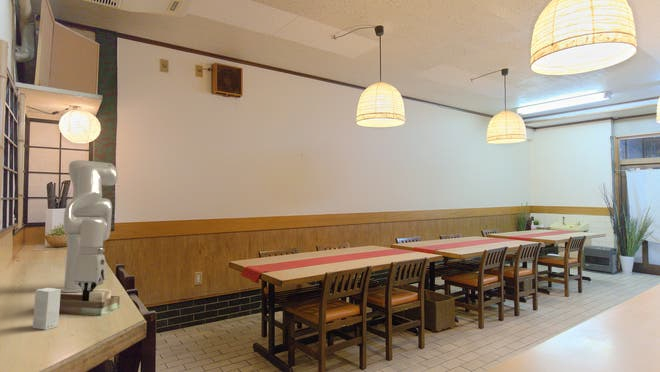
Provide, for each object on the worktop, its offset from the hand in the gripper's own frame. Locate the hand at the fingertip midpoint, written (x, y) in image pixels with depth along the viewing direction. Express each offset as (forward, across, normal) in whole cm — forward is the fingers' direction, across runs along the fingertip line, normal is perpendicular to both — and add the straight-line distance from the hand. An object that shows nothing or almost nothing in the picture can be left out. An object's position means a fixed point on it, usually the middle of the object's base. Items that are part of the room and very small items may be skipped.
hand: (87, 300), depth 141 cm
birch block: (+1, -5, 0) cm, 5 cm away
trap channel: (+4, +3, 0) cm, 5 cm away
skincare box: (+4, -1, +20) cm, 20 cm away
